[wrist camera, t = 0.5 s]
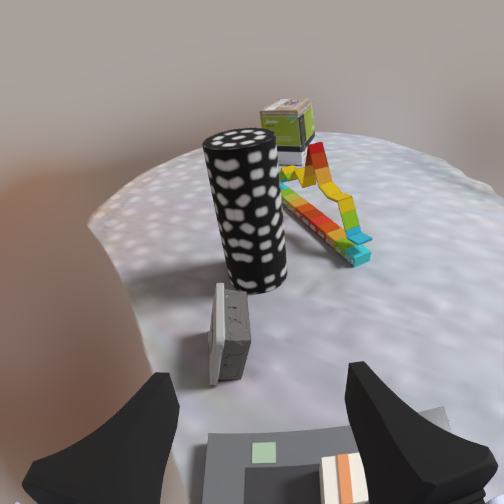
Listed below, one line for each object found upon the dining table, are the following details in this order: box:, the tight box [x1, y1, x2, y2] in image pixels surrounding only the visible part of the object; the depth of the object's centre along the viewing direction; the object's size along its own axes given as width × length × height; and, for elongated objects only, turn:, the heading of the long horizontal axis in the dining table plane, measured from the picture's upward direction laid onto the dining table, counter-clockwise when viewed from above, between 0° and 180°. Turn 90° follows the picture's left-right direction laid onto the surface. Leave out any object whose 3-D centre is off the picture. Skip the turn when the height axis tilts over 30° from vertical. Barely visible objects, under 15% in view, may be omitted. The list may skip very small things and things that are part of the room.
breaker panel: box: [202, 406, 452, 504], centre depth 21 cm, size 12×22×3 cm, turn 89°
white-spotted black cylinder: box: [203, 128, 287, 294], centre depth 41 cm, size 8×8×20 cm
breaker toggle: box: [319, 453, 368, 504], centre depth 19 cm, size 4×3×4 cm
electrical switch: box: [208, 283, 251, 385], centre depth 34 cm, size 8×5×8 cm, turn 4°
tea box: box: [260, 99, 316, 165], centre depth 81 cm, size 15×10×15 cm, turn 157°
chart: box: [279, 142, 372, 267], centre depth 53 cm, size 30×3×15 cm, turn 23°
